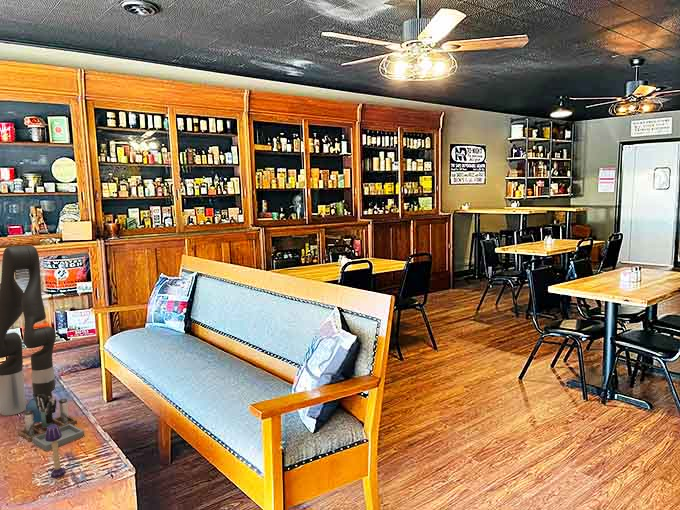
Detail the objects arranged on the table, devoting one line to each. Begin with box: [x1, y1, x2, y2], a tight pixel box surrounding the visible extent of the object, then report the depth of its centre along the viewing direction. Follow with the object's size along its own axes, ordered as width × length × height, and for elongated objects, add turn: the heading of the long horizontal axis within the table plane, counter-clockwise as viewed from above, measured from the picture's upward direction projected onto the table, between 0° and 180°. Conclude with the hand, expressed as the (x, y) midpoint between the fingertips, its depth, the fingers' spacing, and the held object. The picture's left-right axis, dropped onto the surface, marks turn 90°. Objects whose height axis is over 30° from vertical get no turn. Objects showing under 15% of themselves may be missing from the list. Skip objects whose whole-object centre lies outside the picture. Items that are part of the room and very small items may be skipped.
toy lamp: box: [45, 424, 67, 479], centre depth 164 cm, size 5×5×17 cm
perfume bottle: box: [25, 392, 48, 423], centre depth 206 cm, size 6×6×12 cm
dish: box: [32, 424, 85, 452], centre depth 189 cm, size 11×14×2 cm
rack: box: [17, 416, 78, 443], centre depth 197 cm, size 9×18×2 cm, turn 144°
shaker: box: [41, 407, 54, 429], centre depth 197 cm, size 4×4×7 cm
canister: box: [58, 398, 70, 424], centre depth 202 cm, size 3×3×10 cm
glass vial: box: [23, 410, 36, 437], centre depth 192 cm, size 3×3×10 cm
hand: (47, 421), depth 197 cm, fingers closed on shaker, 3 cm apart
